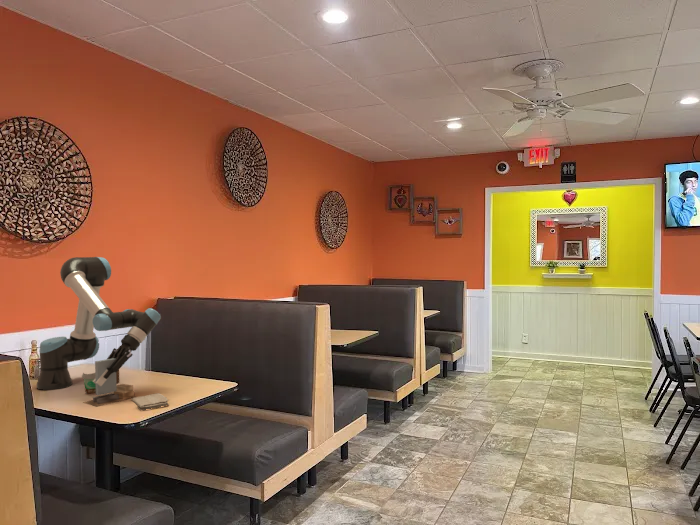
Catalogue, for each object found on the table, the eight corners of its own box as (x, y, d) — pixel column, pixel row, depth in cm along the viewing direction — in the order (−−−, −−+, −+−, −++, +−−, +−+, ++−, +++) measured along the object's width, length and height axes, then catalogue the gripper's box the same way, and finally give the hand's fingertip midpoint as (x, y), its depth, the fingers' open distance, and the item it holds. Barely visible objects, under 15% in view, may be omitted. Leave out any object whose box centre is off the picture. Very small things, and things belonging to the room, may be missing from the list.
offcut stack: (124, 394, 234) (124, 383, 234) (134, 396, 229) (133, 385, 229) (113, 396, 230) (112, 385, 230) (122, 399, 225) (122, 388, 225)
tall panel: (114, 390, 227) (113, 358, 227) (116, 391, 226) (115, 358, 226) (95, 394, 221) (95, 361, 221) (98, 395, 220) (97, 361, 219)
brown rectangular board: (123, 395, 236) (123, 388, 236) (137, 399, 228) (137, 392, 228) (82, 404, 222) (82, 397, 222) (96, 409, 214) (96, 401, 214)
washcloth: (141, 412, 210) (141, 405, 210) (129, 403, 224) (129, 396, 224) (171, 407, 217) (170, 399, 217) (158, 398, 231) (158, 391, 231)
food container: (79, 397, 234) (78, 375, 233) (82, 394, 239) (82, 372, 239) (109, 395, 237) (108, 373, 237) (111, 391, 243) (111, 370, 243)
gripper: (148, 345, 230) (112, 391, 218) (130, 342, 240) (94, 386, 227) (136, 335, 226) (99, 381, 213) (119, 332, 236) (81, 376, 223)
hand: (96, 383), depth 220 cm, fingers closed on tall panel, 2 cm apart
